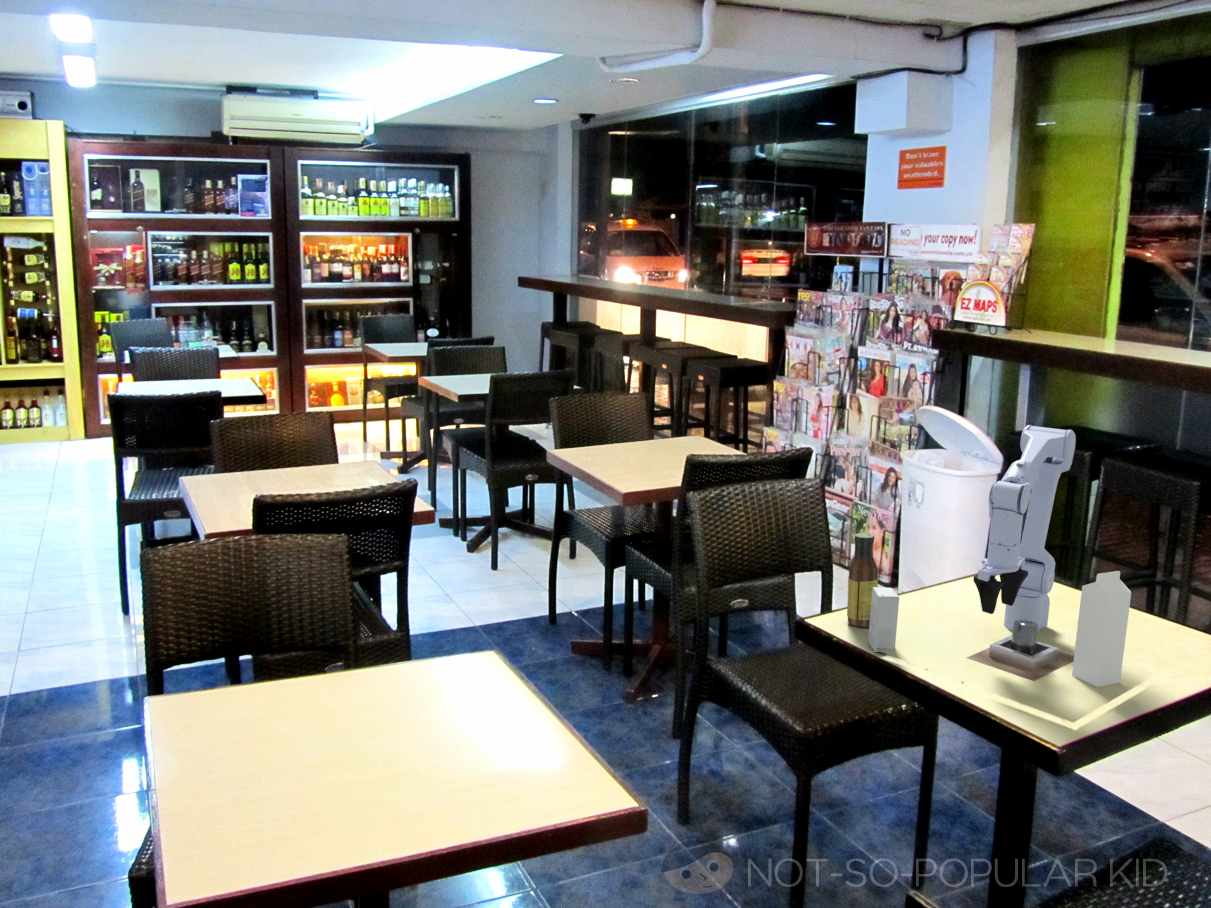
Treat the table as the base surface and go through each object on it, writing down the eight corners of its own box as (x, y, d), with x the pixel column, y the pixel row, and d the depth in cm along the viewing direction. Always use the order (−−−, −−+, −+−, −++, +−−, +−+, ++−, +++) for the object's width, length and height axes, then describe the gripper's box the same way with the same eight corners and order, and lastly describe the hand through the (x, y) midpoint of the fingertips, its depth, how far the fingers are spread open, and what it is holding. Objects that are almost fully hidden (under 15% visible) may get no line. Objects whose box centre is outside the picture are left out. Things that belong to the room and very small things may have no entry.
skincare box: (895, 653, 212) (900, 597, 210) (874, 653, 213) (878, 596, 210) (888, 642, 218) (892, 587, 216) (867, 641, 219) (871, 586, 216)
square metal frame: (1013, 645, 216) (1014, 634, 215) (1057, 659, 209) (1059, 648, 208) (988, 656, 210) (989, 644, 209) (1033, 671, 203) (1035, 659, 202)
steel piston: (1016, 650, 212) (1020, 618, 211) (1038, 657, 209) (1042, 624, 208) (1005, 656, 209) (1009, 623, 208) (1027, 663, 206) (1032, 629, 205)
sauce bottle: (879, 622, 230) (886, 534, 226) (870, 631, 224) (877, 541, 220) (850, 616, 233) (857, 529, 229) (840, 624, 228) (847, 535, 224)
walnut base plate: (1013, 641, 220) (1013, 636, 220) (1078, 662, 210) (1079, 657, 210) (966, 662, 209) (966, 657, 209) (1033, 685, 198) (1033, 680, 198)
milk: (1119, 687, 199) (1135, 575, 194) (1095, 692, 196) (1111, 579, 192) (1093, 675, 204) (1107, 566, 199) (1069, 679, 202) (1084, 569, 197)
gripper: (1004, 531, 214) (997, 595, 217) (966, 543, 205) (959, 610, 208) (1037, 539, 209) (1030, 604, 212) (1000, 552, 200) (993, 620, 202)
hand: (997, 608), depth 209 cm, fingers open, 7 cm apart
